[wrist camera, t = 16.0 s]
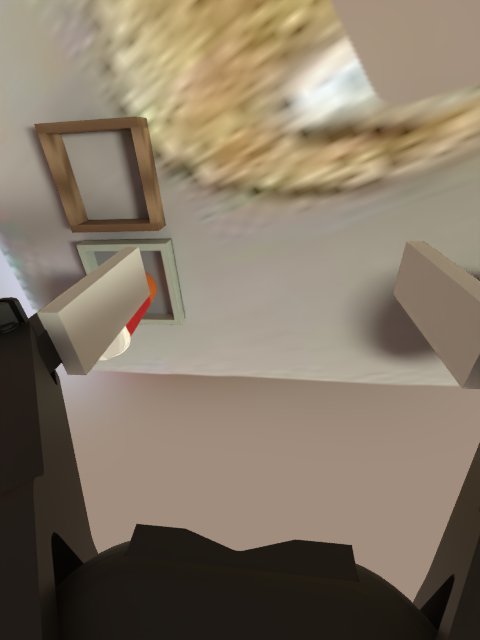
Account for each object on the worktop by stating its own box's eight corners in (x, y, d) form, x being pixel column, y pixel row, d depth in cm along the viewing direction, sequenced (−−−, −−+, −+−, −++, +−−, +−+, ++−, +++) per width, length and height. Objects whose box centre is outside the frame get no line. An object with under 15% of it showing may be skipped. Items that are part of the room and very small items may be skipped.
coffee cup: (112, 297, 50) (58, 351, 37) (118, 255, 46) (58, 299, 33) (159, 314, 51) (121, 372, 38) (169, 273, 46) (129, 323, 34)
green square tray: (85, 240, 45) (76, 245, 43) (171, 238, 44) (166, 243, 42) (110, 316, 53) (104, 323, 51) (185, 317, 51) (181, 325, 49)
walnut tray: (50, 125, 37) (34, 124, 35) (146, 118, 36) (136, 116, 33) (84, 227, 44) (72, 232, 42) (165, 225, 43) (158, 230, 40)
